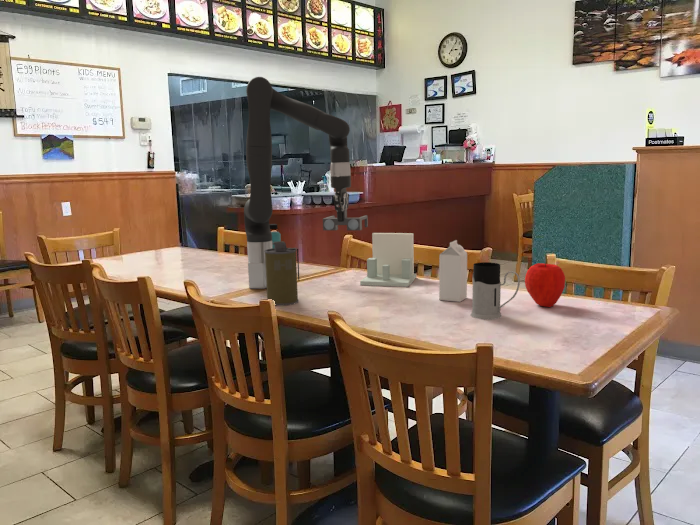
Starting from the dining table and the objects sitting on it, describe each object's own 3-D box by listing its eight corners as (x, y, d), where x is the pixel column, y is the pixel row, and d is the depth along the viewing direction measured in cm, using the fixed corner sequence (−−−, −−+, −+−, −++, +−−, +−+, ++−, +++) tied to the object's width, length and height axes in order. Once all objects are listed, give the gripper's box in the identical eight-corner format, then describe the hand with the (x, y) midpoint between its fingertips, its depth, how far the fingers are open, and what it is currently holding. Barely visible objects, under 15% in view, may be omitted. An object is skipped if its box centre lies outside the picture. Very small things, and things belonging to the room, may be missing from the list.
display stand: (408, 286, 207) (407, 239, 204) (360, 285, 212) (359, 238, 209) (416, 277, 223) (416, 233, 221) (371, 276, 229) (370, 232, 226)
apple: (516, 303, 178) (517, 261, 176) (546, 299, 182) (547, 258, 180) (541, 312, 167) (542, 267, 165) (573, 307, 171) (574, 264, 169)
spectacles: (359, 230, 213) (359, 209, 211) (323, 230, 217) (322, 209, 215) (367, 226, 224) (367, 206, 223) (332, 226, 228) (331, 206, 227)
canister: (269, 306, 182) (266, 244, 178) (264, 299, 192) (261, 241, 188) (302, 303, 185) (300, 242, 181) (296, 297, 195) (294, 239, 191)
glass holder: (479, 310, 171) (479, 261, 169) (524, 317, 162) (526, 265, 160) (465, 316, 165) (465, 265, 162) (512, 324, 156) (513, 270, 153)
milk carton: (439, 300, 185) (439, 242, 182) (446, 295, 191) (446, 239, 188) (460, 302, 182) (460, 243, 178) (466, 297, 188) (467, 240, 185)
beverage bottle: (281, 270, 247) (279, 224, 243) (266, 270, 247) (264, 224, 244) (283, 267, 253) (281, 223, 250) (268, 268, 253) (266, 223, 250)
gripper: (336, 174, 220) (338, 219, 223) (325, 175, 207) (326, 223, 210) (355, 174, 218) (356, 219, 221) (344, 175, 205) (346, 223, 208)
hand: (342, 220), depth 216 cm, fingers closed on spectacles, 3 cm apart
